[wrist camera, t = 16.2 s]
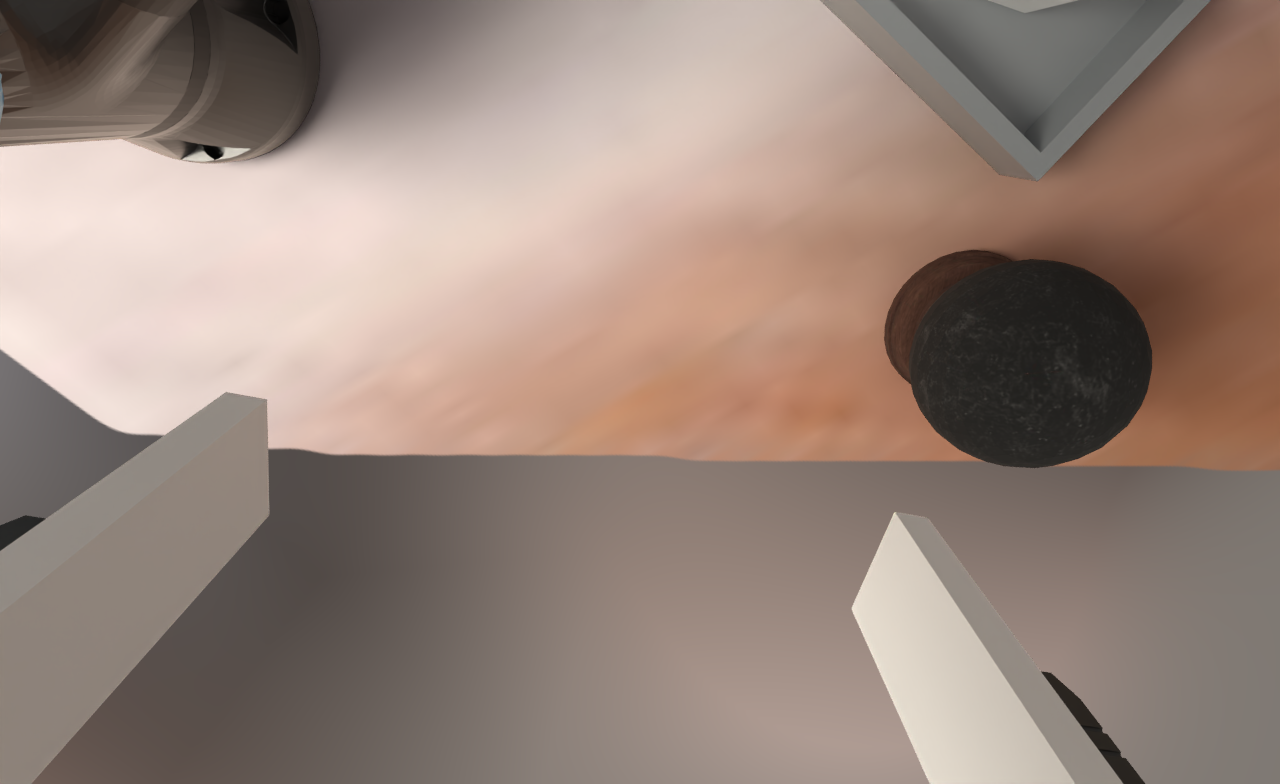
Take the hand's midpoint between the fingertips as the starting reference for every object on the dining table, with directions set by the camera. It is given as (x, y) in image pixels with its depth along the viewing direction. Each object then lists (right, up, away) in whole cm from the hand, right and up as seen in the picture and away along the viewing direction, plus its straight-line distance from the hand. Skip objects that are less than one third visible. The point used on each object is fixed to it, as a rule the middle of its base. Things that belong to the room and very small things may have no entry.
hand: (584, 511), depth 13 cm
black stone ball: (+25, +8, +35) cm, 44 cm away
